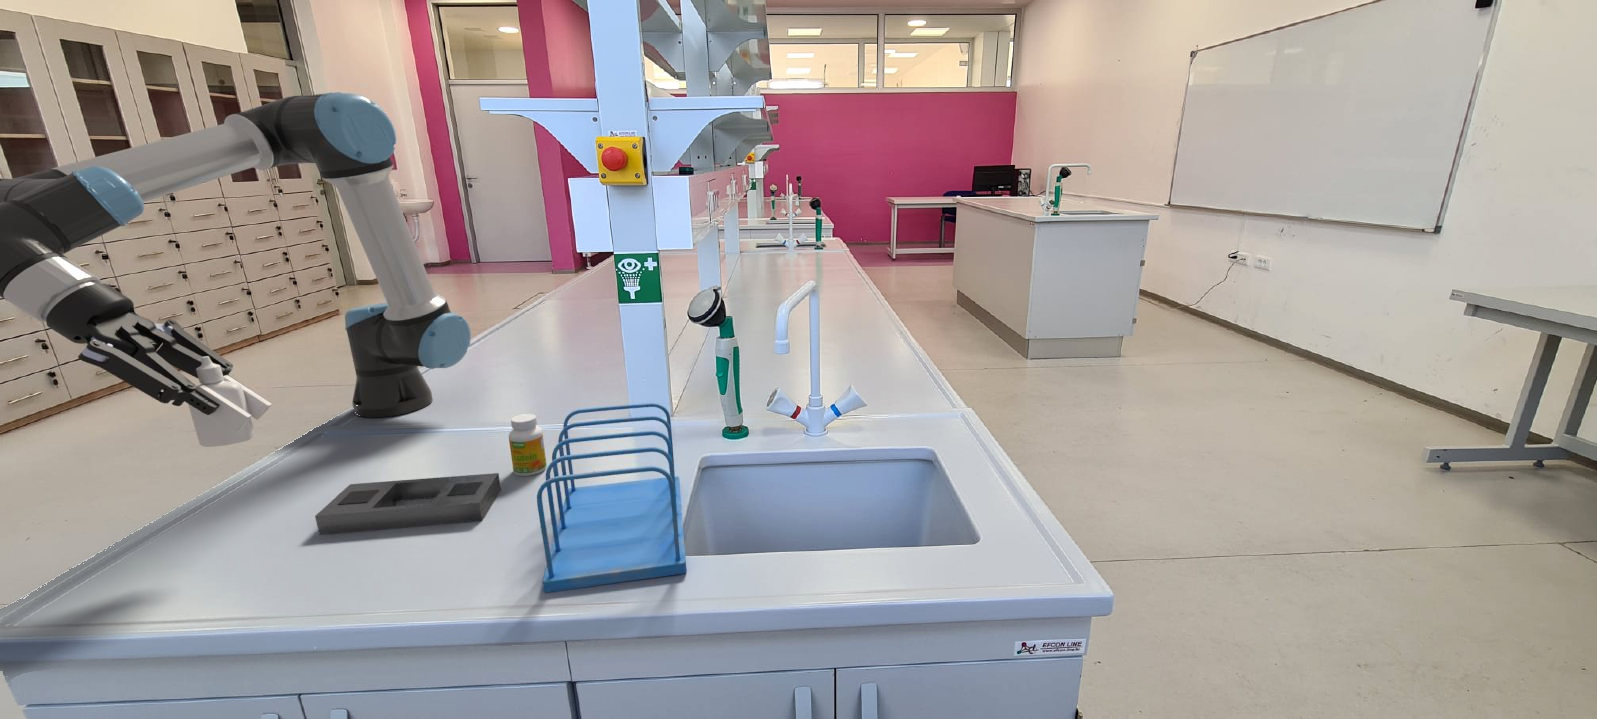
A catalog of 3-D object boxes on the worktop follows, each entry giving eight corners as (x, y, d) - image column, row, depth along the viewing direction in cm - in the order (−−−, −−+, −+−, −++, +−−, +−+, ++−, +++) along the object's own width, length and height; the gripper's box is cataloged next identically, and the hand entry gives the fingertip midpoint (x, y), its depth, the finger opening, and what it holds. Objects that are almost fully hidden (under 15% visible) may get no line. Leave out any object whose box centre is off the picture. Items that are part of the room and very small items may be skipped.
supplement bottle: (511, 478, 109) (503, 425, 107) (515, 465, 114) (508, 413, 112) (545, 474, 111) (538, 421, 108) (548, 461, 116) (541, 410, 113)
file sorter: (569, 498, 103) (558, 407, 99) (680, 487, 106) (674, 398, 102) (543, 594, 79) (527, 480, 75) (687, 575, 83) (679, 465, 78)
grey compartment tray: (354, 501, 102) (350, 483, 101) (501, 489, 106) (498, 472, 105) (319, 534, 93) (314, 515, 92) (482, 520, 96) (479, 502, 95)
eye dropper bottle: (224, 434, 91) (201, 352, 87) (261, 435, 90) (240, 352, 87) (193, 447, 86) (168, 361, 83) (233, 448, 86) (209, 361, 83)
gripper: (113, 310, 89) (275, 415, 96) (-12, 340, 73) (192, 463, 80) (146, 271, 89) (306, 379, 96) (26, 292, 73) (229, 420, 80)
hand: (254, 417), depth 88 cm, fingers closed on eye dropper bottle, 4 cm apart
